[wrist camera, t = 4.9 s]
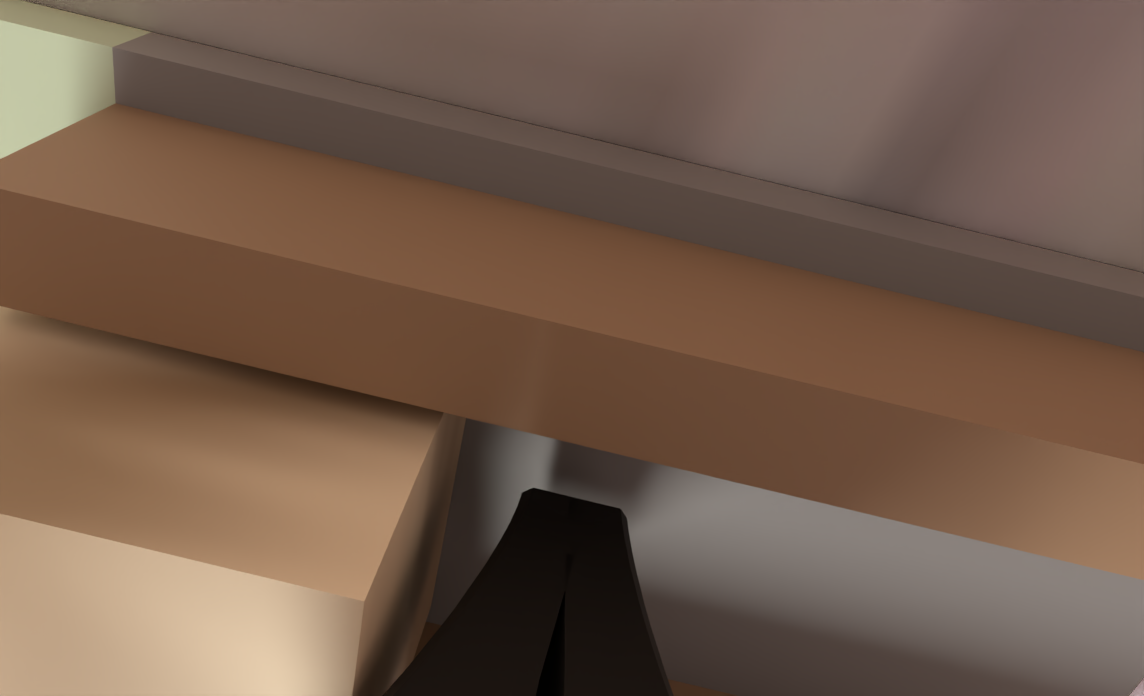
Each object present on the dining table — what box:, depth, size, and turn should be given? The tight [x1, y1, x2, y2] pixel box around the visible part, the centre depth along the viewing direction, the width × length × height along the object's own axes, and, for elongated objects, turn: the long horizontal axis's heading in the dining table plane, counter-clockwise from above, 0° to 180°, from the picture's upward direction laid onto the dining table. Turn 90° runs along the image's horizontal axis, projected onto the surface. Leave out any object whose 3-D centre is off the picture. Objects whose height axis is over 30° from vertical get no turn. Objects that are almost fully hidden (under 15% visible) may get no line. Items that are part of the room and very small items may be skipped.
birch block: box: [0, 306, 466, 696], centre depth 10 cm, size 5×5×4 cm
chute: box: [0, 0, 1144, 696], centre depth 11 cm, size 22×9×3 cm, turn 78°
